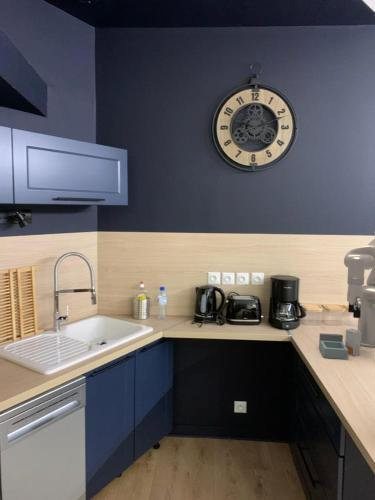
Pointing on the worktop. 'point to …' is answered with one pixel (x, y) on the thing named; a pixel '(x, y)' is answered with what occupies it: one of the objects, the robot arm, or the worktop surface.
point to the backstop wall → (330, 337)
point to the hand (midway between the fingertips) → (354, 314)
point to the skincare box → (353, 341)
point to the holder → (333, 349)
